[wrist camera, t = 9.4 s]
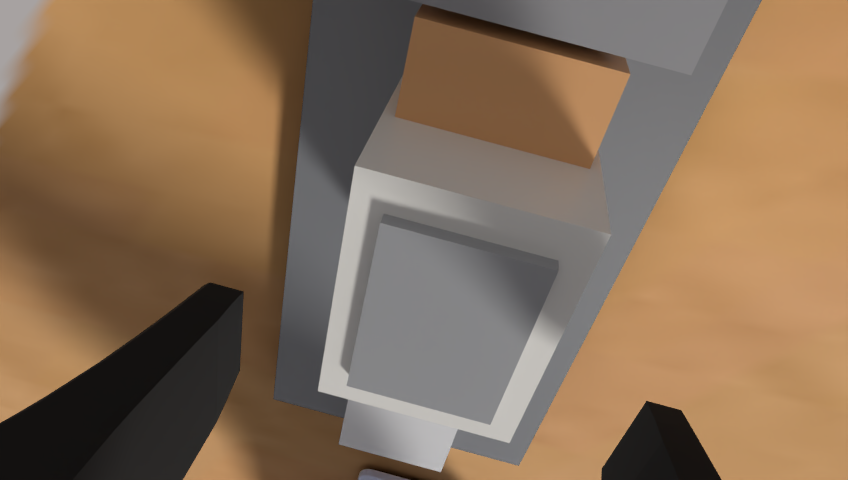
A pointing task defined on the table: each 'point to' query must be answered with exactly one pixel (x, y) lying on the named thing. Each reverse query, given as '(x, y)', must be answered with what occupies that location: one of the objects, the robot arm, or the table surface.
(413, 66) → the orange block
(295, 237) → the rail board
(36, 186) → the table surface
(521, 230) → the block
